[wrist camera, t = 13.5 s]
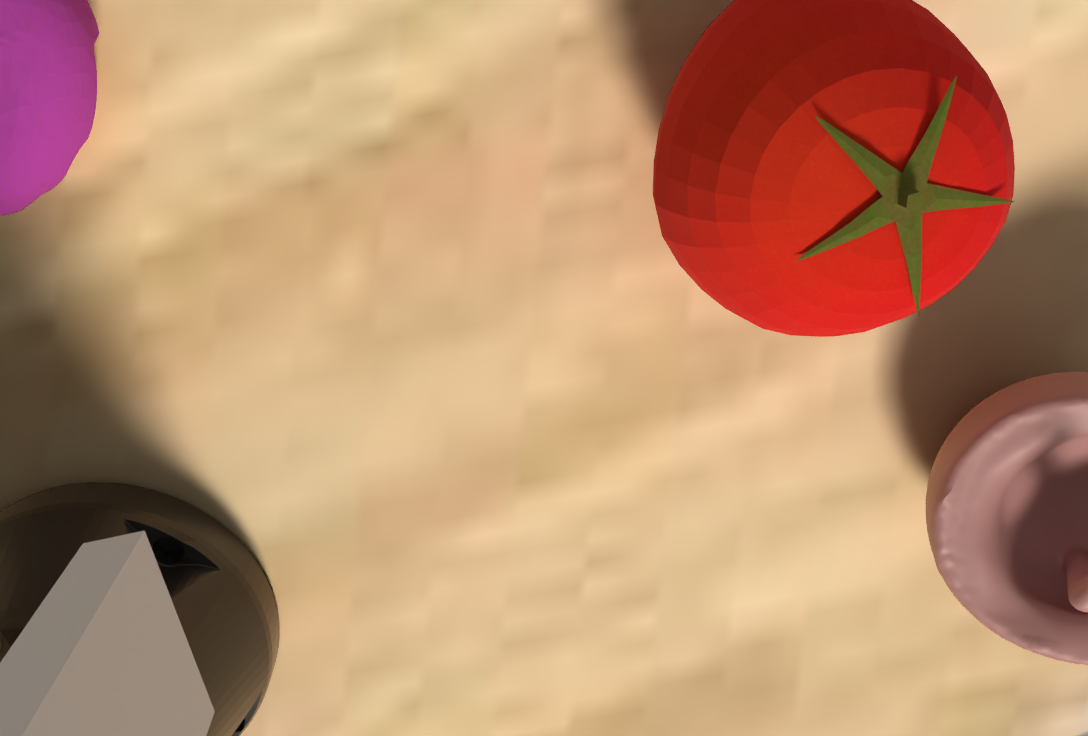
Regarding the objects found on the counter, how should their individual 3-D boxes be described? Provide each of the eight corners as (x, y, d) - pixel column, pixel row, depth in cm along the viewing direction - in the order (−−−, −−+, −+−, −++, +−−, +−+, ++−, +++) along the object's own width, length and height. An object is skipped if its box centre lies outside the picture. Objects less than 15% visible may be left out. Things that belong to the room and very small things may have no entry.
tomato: (878, 281, 45) (1043, 407, 32) (620, 280, 44) (679, 408, 31) (920, -27, 40) (1133, -31, 27) (635, -33, 40) (711, -40, 27)
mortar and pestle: (939, 307, 46) (1080, 408, 35) (1178, 361, 47) (1383, 474, 36) (849, 539, 50) (950, 693, 39) (1073, 582, 51) (1229, 741, 40)
